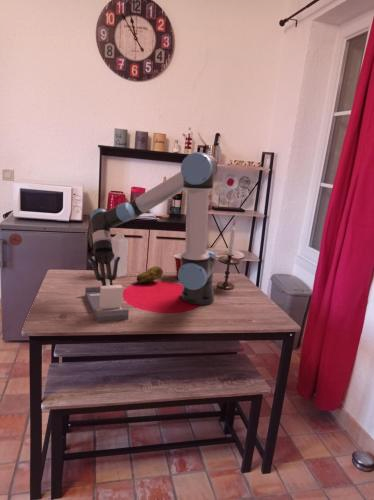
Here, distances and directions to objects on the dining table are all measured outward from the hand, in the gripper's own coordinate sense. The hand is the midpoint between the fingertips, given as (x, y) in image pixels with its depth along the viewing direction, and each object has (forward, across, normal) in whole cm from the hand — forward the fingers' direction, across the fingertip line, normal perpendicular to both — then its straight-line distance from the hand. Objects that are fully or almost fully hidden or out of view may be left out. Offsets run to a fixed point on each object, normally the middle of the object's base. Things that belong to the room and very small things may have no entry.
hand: (108, 296), depth 144 cm
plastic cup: (-20, -47, -30) cm, 60 cm away
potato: (-16, -27, -27) cm, 41 cm away
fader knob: (+5, 0, -1) cm, 5 cm away
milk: (-25, -15, -36) cm, 46 cm away
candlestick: (-8, -64, -18) cm, 68 cm away
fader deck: (+1, 0, -9) cm, 9 cm away
